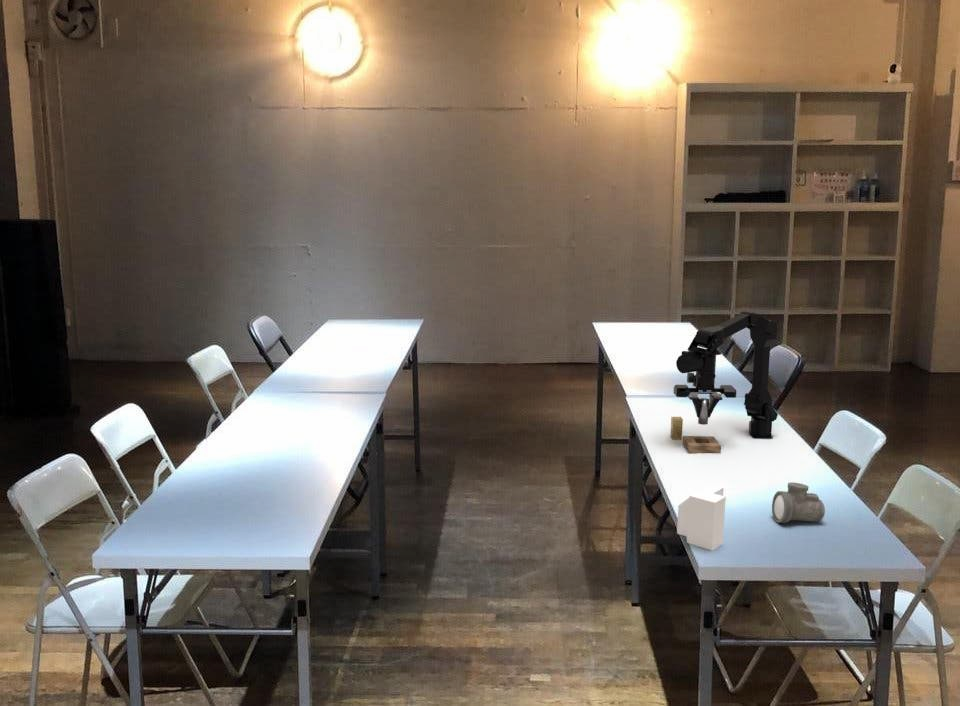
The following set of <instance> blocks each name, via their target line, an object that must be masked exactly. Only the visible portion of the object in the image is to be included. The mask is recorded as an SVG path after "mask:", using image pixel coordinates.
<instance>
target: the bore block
mask: <svg viewBox="0 0 960 706" xmlns="http://www.w3.org/2000/svg"><path fill="white" fill-rule="evenodd" d="M682 445H683V447H684V448H685V450H686V452H687V453H688V454H697V453H722V445H721V444H720V443H719V441H718V440H717V438H716V437H715V436H706V435H705V436H703V435H702V436H699V435H698V436H697V435H696V436H695V435H693V436H690V435H689V436H688V435H682Z"/></svg>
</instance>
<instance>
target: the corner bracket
mask: <svg viewBox="0 0 960 706" xmlns="http://www.w3.org/2000/svg"><path fill="white" fill-rule="evenodd" d="M726 500H727V497H726V496H724V487H722V486H719V485H714V484H709V485H707V486H705V487H703V488H702V489H700V490H698V491H696V492H694V493H692V494H690V495H689V497H688V498H687V499H685V500H684V501H683V502H681V503H679V505H677V506H678V508H677V510H678V511H677V524H676V526H677V527H676V534H677V535H681V536H683V537H687V538H686V543H687V544H689V545H693V546H696V547H701V548H703V549H705V550H710V551H714V550H715V549H717V548H718V547H720V546H721V545H723V544H724V529H725V528H724V527H725V513H726Z"/></svg>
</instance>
